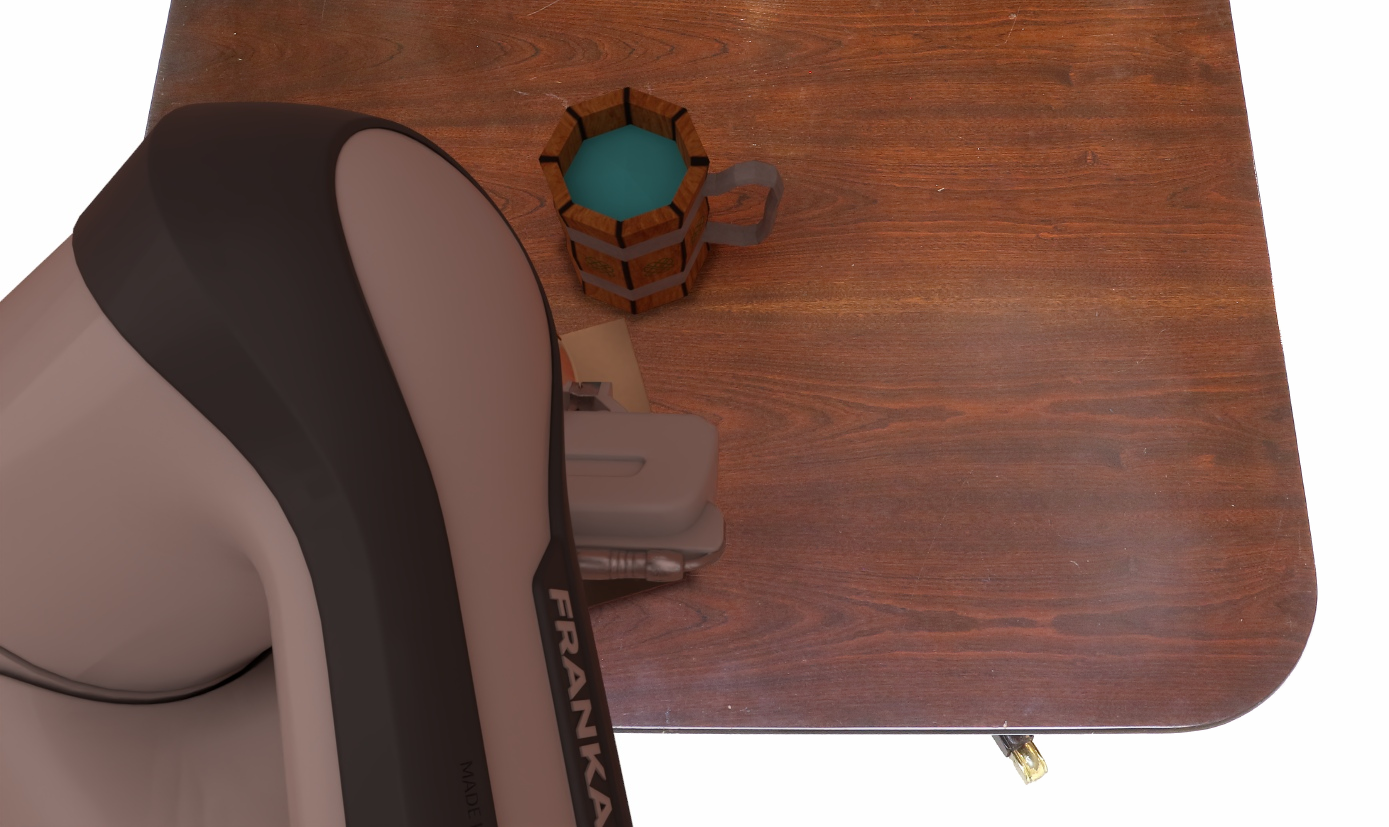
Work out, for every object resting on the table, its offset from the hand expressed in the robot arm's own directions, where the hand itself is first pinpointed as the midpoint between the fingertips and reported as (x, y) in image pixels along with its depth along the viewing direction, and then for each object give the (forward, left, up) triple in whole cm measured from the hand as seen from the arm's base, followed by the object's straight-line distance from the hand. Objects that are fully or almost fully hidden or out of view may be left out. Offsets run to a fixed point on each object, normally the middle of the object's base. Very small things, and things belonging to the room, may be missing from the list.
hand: (513, 392), depth 45 cm
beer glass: (0, -1, -9) cm, 9 cm away
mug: (+13, +23, -37) cm, 45 cm away
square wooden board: (0, -1, -9) cm, 9 cm away
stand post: (0, -1, -36) cm, 36 cm away
